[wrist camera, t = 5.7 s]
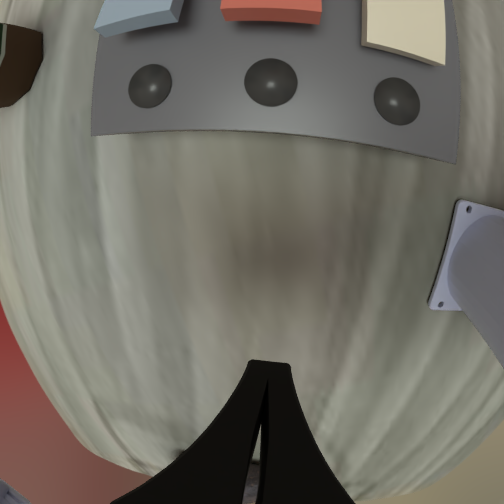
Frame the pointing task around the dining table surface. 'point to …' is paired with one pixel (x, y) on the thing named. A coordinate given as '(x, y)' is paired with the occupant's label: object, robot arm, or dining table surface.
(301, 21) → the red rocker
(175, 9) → the slate rocker
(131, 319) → the dining table surface
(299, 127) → the rocker switch panel
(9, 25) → the beer bottle
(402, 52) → the block
